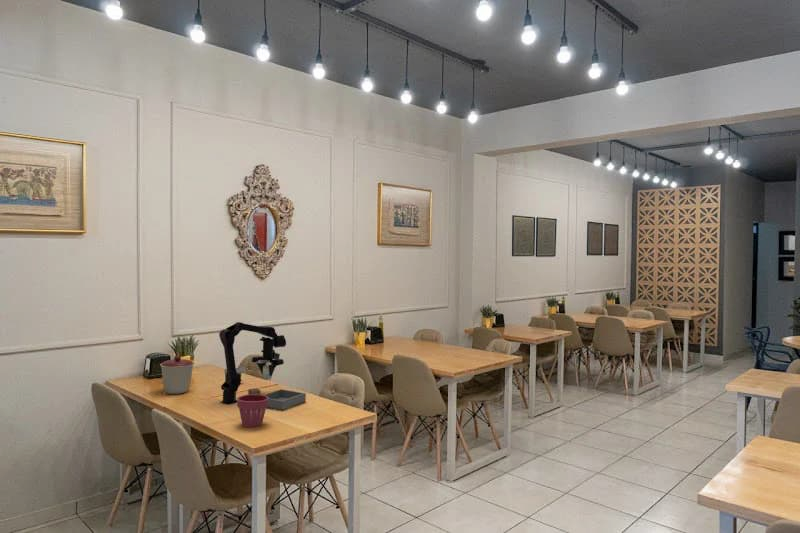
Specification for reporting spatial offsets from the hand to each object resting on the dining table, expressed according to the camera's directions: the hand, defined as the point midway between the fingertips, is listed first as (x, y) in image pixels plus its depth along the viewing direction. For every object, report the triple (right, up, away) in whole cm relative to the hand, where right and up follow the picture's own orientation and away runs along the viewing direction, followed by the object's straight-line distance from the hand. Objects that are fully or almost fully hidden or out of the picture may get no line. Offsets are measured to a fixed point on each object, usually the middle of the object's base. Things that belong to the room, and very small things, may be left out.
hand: (267, 375), depth 310 cm
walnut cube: (-6, -12, -7) cm, 14 cm away
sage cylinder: (0, -2, 0) cm, 2 cm away
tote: (+12, -12, -17) cm, 24 cm away
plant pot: (+6, -13, -53) cm, 55 cm away
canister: (-52, -10, +2) cm, 53 cm away
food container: (-26, -11, +24) cm, 37 cm away
